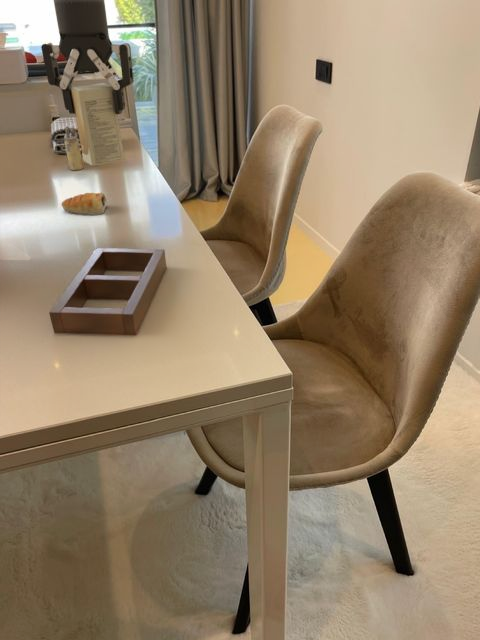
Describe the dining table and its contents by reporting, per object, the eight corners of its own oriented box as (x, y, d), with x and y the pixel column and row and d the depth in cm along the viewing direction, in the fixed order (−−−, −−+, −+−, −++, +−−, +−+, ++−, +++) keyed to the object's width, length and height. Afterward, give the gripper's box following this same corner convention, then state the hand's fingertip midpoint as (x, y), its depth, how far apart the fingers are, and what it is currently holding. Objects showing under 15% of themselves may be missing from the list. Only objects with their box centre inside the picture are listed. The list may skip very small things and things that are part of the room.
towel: (53, 143, 172) (48, 116, 168) (114, 138, 177) (110, 112, 172) (54, 156, 160) (48, 127, 156) (119, 150, 165) (115, 122, 160)
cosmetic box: (115, 155, 102) (105, 82, 95) (125, 161, 99) (116, 85, 92) (81, 161, 99) (68, 85, 92) (90, 166, 96) (78, 89, 89)
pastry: (59, 216, 120) (56, 198, 118) (67, 205, 125) (64, 188, 123) (104, 215, 120) (101, 197, 118) (109, 204, 126) (107, 188, 124)
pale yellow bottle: (83, 170, 148) (75, 130, 143) (68, 171, 147) (60, 131, 142) (82, 163, 154) (76, 124, 148) (68, 164, 153) (61, 125, 148)
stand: (56, 343, 78) (48, 312, 76) (101, 275, 96) (96, 247, 93) (137, 345, 78) (132, 314, 75) (167, 276, 96) (164, 249, 93)
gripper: (131, -2, 89) (142, 109, 98) (42, -3, 89) (62, 108, 98) (118, -1, 82) (132, 118, 91) (23, -1, 83) (46, 117, 92)
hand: (96, 113), depth 95 cm, fingers closed on cosmetic box, 7 cm apart
